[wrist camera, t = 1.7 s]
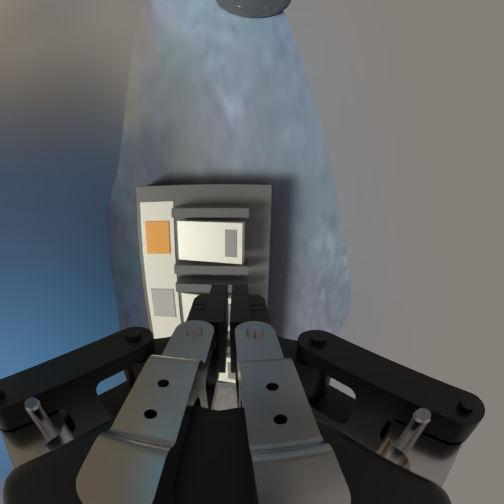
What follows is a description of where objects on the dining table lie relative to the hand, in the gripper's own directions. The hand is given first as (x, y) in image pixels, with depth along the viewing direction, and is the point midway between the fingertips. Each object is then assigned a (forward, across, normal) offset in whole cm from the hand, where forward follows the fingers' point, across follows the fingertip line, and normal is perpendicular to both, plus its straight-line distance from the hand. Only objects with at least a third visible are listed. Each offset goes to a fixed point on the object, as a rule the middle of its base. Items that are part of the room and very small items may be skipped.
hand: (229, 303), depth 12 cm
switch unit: (+17, +3, +7) cm, 19 cm away
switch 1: (+12, +2, 0) cm, 13 cm away
